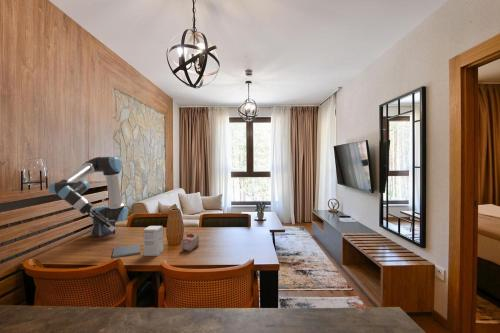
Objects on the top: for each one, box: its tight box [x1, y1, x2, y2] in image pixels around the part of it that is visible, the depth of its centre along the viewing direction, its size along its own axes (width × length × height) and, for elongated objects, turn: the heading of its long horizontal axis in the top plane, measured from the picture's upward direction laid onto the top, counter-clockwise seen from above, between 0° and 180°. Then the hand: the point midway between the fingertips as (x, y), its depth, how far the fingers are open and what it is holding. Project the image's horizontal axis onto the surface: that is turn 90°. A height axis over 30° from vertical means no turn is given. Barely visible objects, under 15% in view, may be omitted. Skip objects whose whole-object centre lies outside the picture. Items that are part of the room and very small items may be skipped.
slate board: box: [111, 243, 141, 259], centre depth 172 cm, size 18×16×1 cm
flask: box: [99, 218, 116, 237], centre depth 167 cm, size 9×3×11 cm, turn 116°
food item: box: [180, 233, 200, 252], centre depth 176 cm, size 14×8×10 cm, turn 167°
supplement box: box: [142, 225, 164, 257], centre depth 168 cm, size 10×9×17 cm
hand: (114, 229), depth 168 cm, fingers closed on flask, 3 cm apart
